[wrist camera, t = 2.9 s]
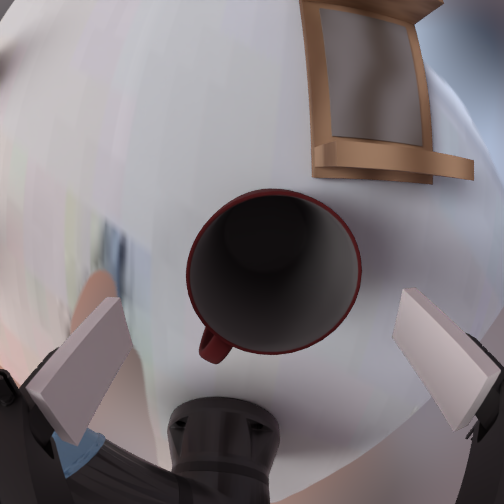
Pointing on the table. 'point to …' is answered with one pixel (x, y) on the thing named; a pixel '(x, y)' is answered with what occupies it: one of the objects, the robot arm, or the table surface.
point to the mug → (271, 274)
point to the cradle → (371, 92)
